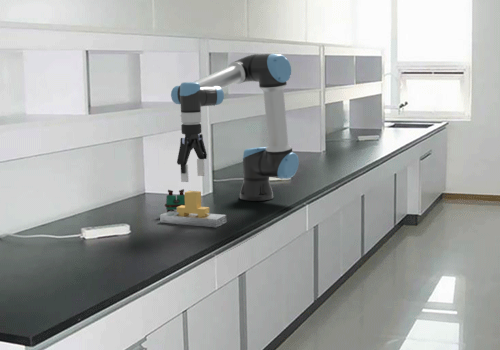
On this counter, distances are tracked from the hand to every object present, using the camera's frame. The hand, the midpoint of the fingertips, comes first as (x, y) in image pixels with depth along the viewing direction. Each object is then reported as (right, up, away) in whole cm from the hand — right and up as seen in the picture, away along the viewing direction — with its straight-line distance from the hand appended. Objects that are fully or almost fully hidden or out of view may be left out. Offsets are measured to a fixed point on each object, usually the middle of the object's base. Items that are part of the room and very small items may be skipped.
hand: (193, 178), depth 274 cm
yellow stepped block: (0, -17, +2) cm, 17 cm away
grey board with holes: (0, -17, +2) cm, 17 cm away
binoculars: (-8, -15, +19) cm, 25 cm away
